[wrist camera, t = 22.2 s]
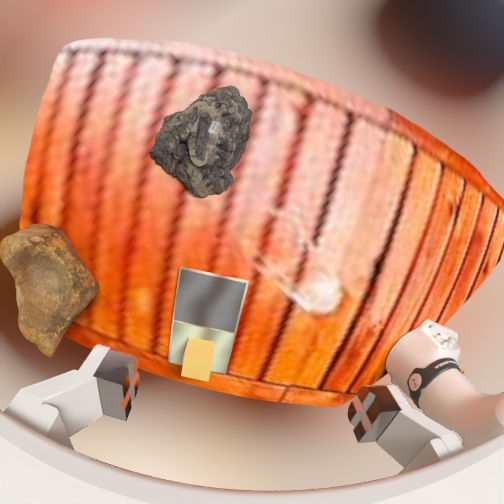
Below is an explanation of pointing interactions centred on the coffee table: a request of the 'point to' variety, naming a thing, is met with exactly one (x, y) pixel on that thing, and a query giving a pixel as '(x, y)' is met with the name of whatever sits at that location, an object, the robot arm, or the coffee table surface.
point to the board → (206, 314)
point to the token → (198, 359)
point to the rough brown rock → (47, 283)
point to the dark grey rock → (205, 141)
